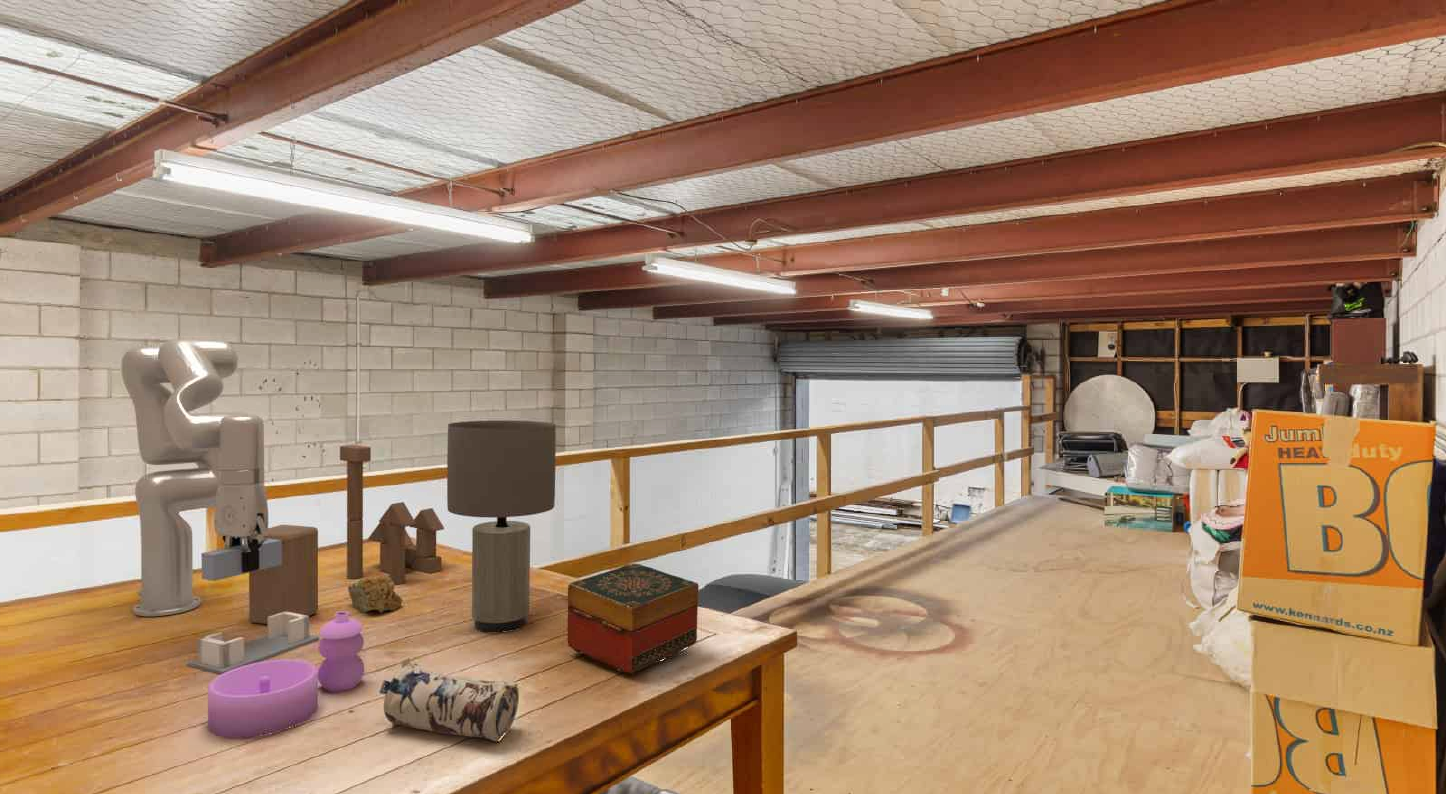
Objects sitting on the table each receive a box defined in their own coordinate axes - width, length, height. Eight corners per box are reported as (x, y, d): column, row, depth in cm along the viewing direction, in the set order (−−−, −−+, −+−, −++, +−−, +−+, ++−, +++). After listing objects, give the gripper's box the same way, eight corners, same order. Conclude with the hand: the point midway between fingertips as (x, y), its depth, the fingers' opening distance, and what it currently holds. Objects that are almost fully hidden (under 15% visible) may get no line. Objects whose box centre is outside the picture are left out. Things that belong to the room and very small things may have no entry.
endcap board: (187, 665, 144) (187, 639, 144) (284, 632, 163) (284, 608, 162) (223, 674, 140) (223, 647, 140) (318, 639, 159) (318, 615, 159)
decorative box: (641, 634, 169) (635, 559, 169) (710, 653, 153) (704, 570, 153) (562, 662, 155) (555, 581, 154) (629, 687, 139) (621, 596, 139)
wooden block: (286, 627, 165) (286, 535, 165) (247, 623, 167) (246, 532, 167) (319, 613, 175) (320, 526, 174) (281, 609, 177) (281, 523, 176)
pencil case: (375, 731, 121) (376, 670, 120) (411, 708, 129) (412, 651, 128) (498, 754, 115) (498, 690, 114) (527, 729, 123) (528, 668, 122)
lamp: (438, 645, 157) (439, 428, 155) (453, 610, 179) (455, 420, 177) (552, 639, 162) (555, 429, 160) (553, 606, 184) (556, 420, 182)
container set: (243, 748, 115) (243, 661, 114) (188, 723, 122) (187, 641, 122) (388, 687, 137) (388, 614, 136) (333, 669, 144) (333, 600, 144)
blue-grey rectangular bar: (213, 581, 146) (213, 554, 145) (201, 578, 147) (201, 553, 147) (281, 564, 159) (281, 540, 158) (270, 562, 160) (269, 538, 160)
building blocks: (393, 590, 193) (394, 452, 192) (333, 575, 206) (333, 445, 204) (455, 573, 210) (456, 445, 208) (396, 560, 222) (396, 439, 221)
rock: (357, 628, 180) (340, 589, 181) (392, 612, 186) (375, 575, 187) (376, 617, 172) (359, 577, 173) (412, 601, 179) (395, 562, 180)
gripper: (195, 477, 152) (196, 569, 153) (252, 482, 145) (253, 579, 146) (232, 473, 159) (233, 561, 159) (288, 477, 152) (289, 569, 153)
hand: (243, 568), depth 153 cm, fingers closed on blue-grey rectangular bar, 3 cm apart
